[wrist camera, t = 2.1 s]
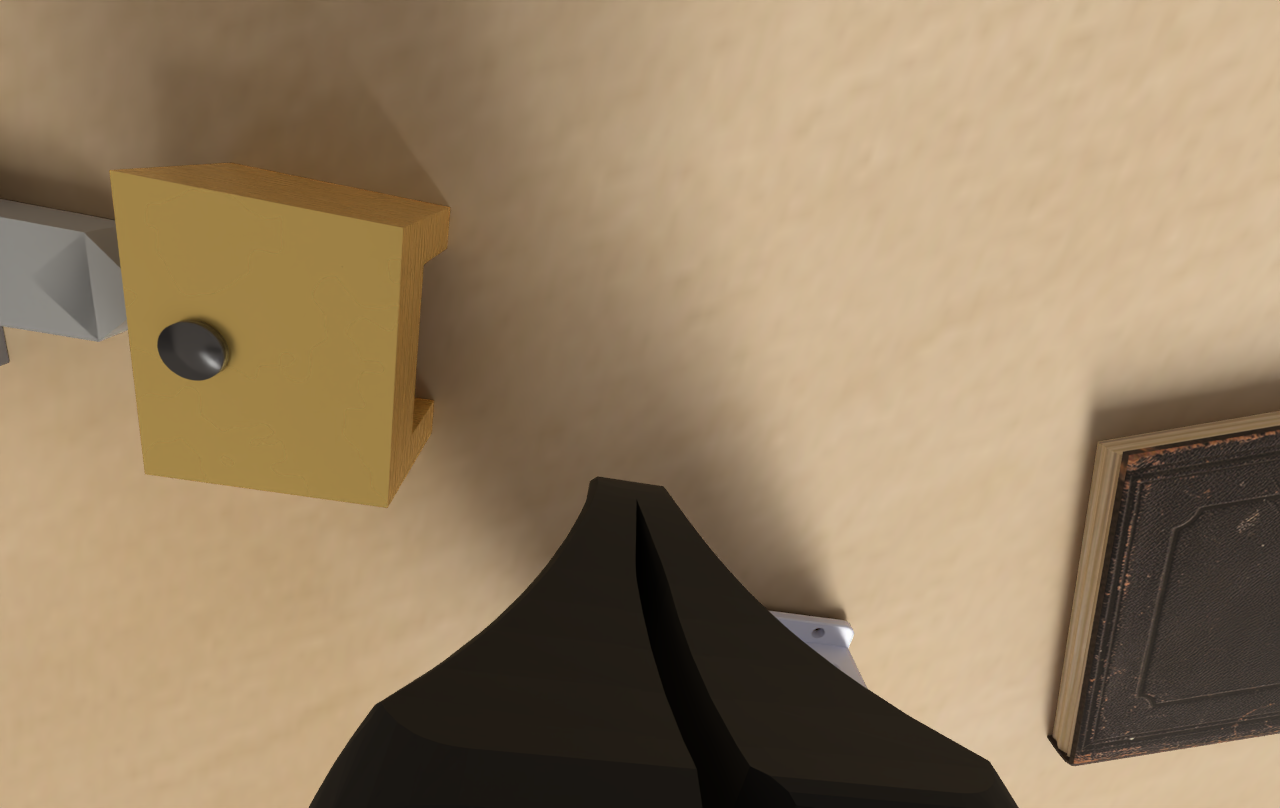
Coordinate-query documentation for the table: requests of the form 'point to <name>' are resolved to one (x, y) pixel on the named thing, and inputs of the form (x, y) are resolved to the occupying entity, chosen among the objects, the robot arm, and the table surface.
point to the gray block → (59, 274)
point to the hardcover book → (1176, 594)
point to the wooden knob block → (275, 328)
